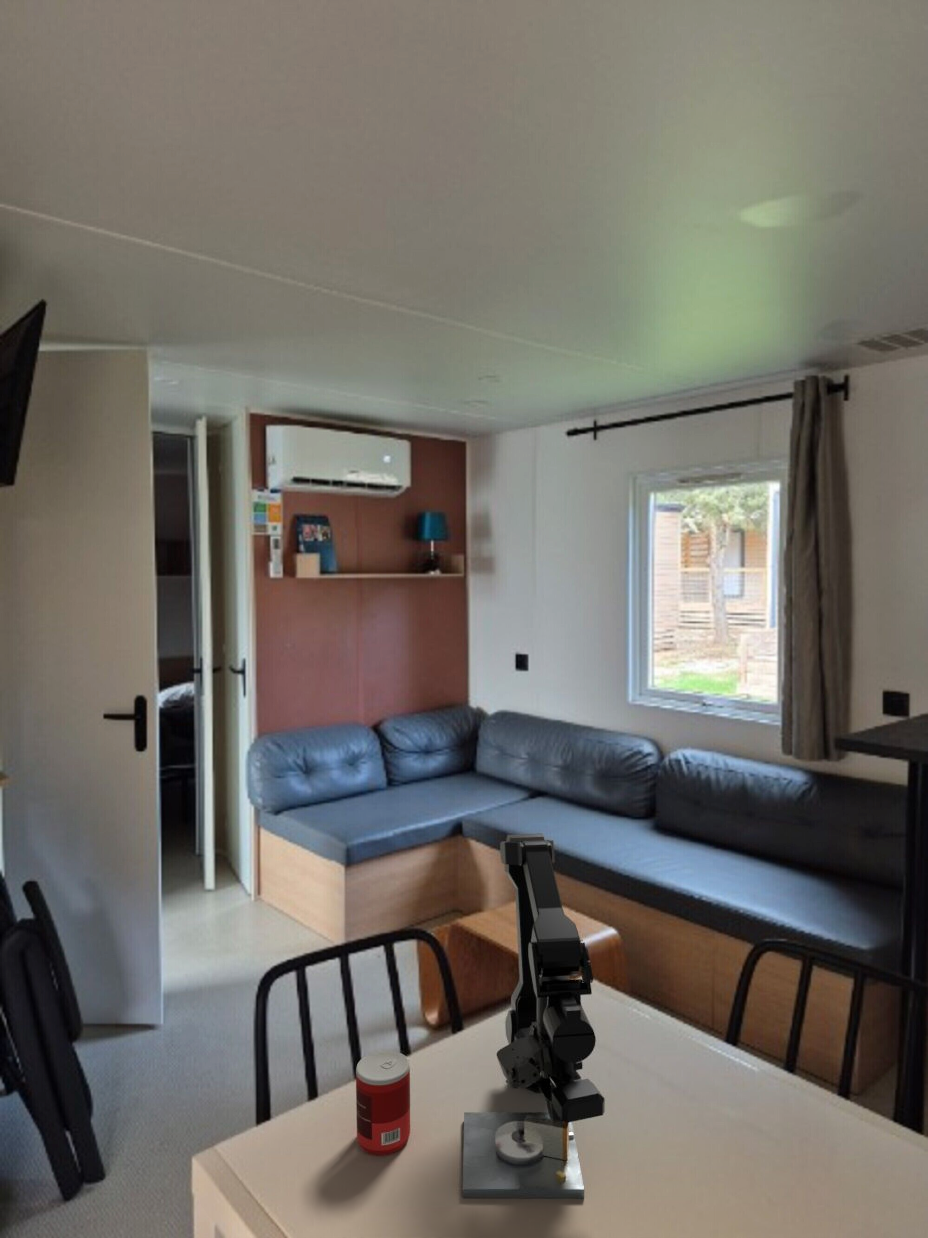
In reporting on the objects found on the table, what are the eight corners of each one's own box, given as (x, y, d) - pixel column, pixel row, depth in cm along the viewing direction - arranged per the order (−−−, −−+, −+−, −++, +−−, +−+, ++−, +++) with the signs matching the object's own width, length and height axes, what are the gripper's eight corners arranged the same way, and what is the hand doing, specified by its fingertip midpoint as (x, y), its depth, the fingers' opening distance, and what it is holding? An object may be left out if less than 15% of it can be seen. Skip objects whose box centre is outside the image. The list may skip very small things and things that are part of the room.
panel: (462, 1198, 108) (462, 1185, 108) (464, 1120, 124) (464, 1108, 124) (584, 1198, 108) (584, 1185, 108) (570, 1120, 124) (570, 1108, 124)
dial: (489, 1159, 113) (489, 1127, 113) (502, 1127, 120) (502, 1098, 120) (563, 1174, 110) (563, 1142, 110) (572, 1141, 117) (572, 1110, 117)
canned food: (419, 1129, 122) (418, 1057, 121) (392, 1163, 115) (392, 1086, 114) (375, 1116, 125) (374, 1045, 125) (346, 1148, 118) (345, 1073, 117)
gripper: (482, 997, 122) (482, 1098, 123) (527, 1068, 104) (527, 1186, 105) (551, 986, 126) (550, 1085, 126) (606, 1054, 108) (606, 1168, 108)
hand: (556, 1127), depth 116 cm, fingers closed
